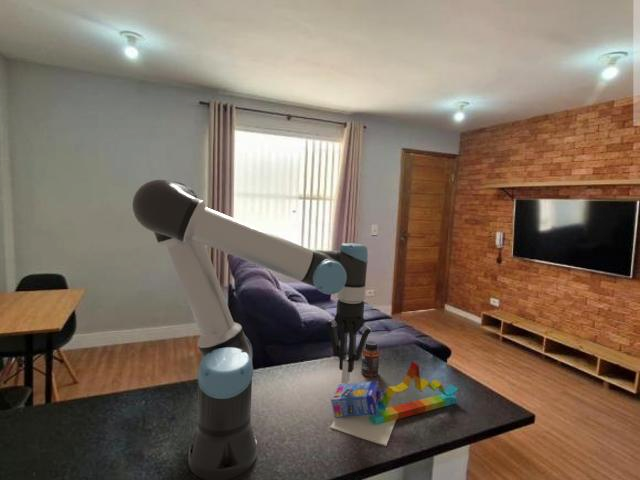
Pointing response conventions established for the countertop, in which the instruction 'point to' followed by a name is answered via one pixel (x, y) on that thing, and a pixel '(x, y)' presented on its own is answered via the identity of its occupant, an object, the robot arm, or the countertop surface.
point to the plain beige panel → (364, 428)
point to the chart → (415, 406)
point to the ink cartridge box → (356, 399)
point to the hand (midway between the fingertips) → (345, 381)
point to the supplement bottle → (370, 359)
